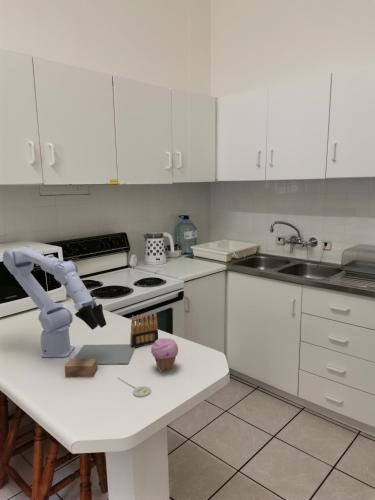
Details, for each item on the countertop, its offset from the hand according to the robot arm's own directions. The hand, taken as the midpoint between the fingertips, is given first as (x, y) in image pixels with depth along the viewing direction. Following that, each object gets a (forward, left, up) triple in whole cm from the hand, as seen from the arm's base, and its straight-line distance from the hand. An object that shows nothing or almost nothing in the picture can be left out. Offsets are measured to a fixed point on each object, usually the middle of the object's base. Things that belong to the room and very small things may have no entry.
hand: (99, 326), depth 123 cm
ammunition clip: (+11, +16, -14) cm, 24 cm away
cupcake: (+21, -2, -14) cm, 26 cm away
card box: (-6, -5, -14) cm, 16 cm away
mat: (-2, +8, -14) cm, 16 cm away
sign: (+12, -13, -14) cm, 23 cm away
